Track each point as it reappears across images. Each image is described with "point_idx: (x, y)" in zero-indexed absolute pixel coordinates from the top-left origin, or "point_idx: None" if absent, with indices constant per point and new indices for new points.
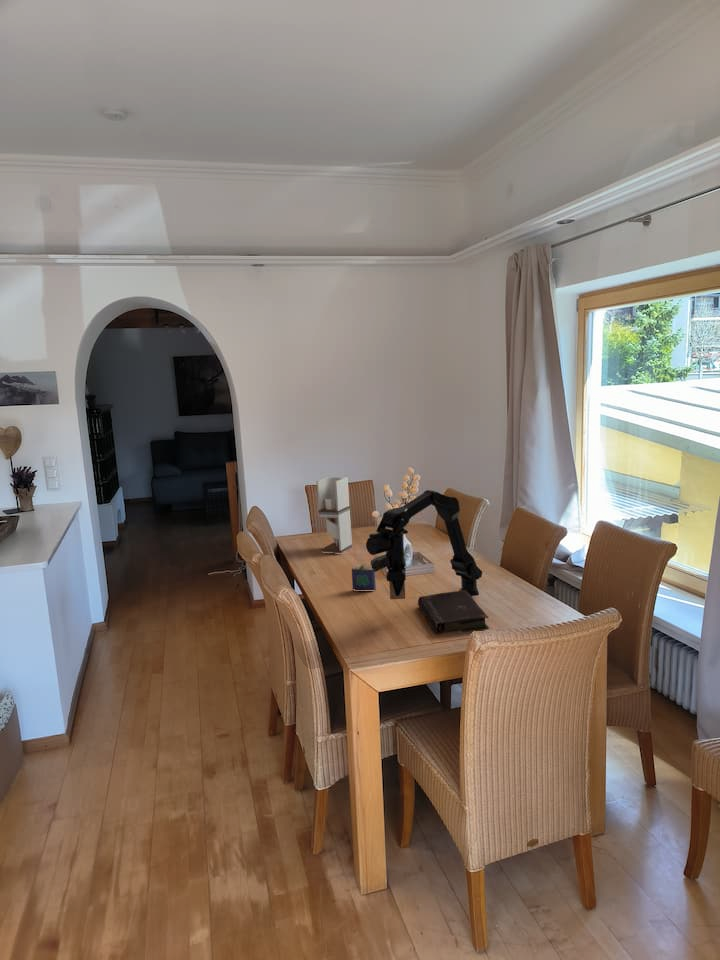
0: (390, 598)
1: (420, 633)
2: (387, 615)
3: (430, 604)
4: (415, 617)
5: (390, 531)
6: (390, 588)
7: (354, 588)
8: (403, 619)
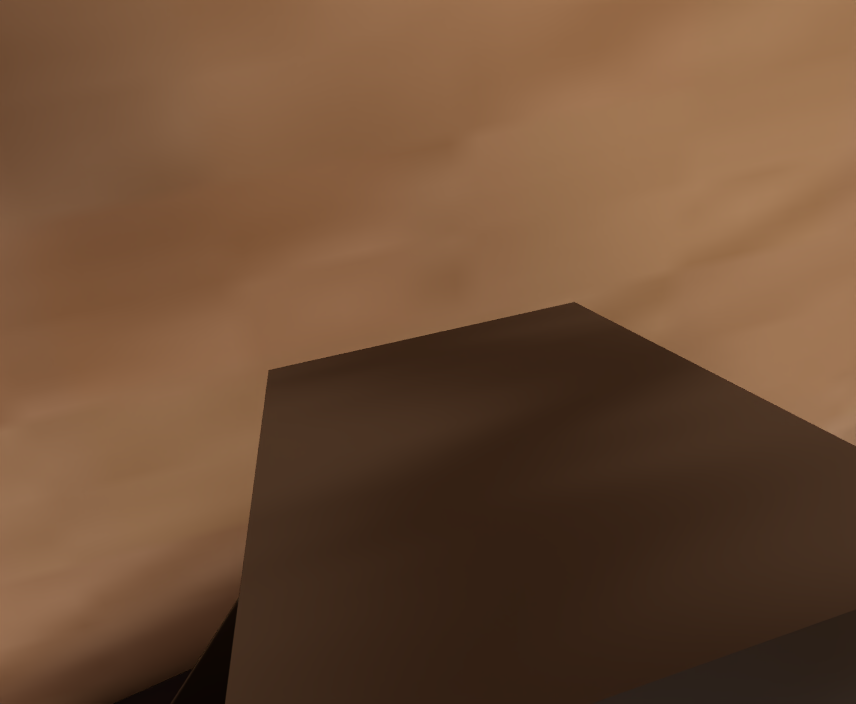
0: (267, 383)
1: (45, 612)
2: (475, 177)
3: None
4: None
5: None
6: (252, 559)
7: None
8: None
